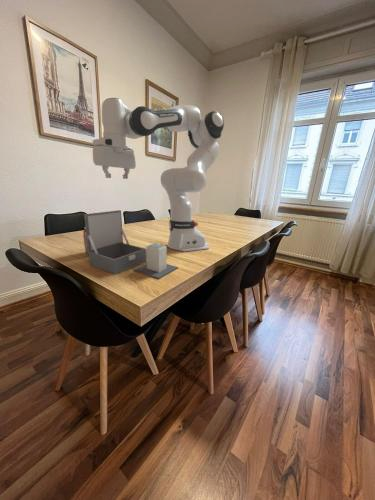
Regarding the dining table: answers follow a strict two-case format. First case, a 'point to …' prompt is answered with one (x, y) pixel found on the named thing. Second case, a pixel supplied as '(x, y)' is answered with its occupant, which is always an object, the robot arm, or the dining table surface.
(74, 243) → the dining table surface
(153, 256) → the block
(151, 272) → the mat
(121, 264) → the case
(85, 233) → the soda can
